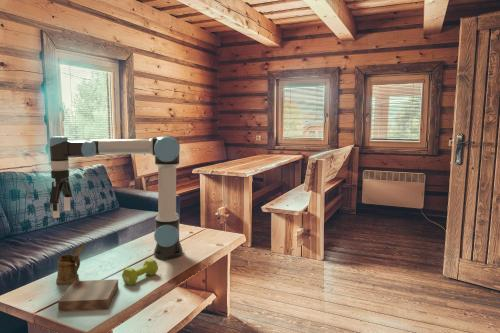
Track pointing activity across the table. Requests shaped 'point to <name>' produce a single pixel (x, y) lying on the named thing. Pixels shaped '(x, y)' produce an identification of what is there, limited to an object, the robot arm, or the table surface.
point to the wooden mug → (69, 267)
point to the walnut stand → (88, 295)
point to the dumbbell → (139, 272)
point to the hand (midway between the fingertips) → (62, 213)
